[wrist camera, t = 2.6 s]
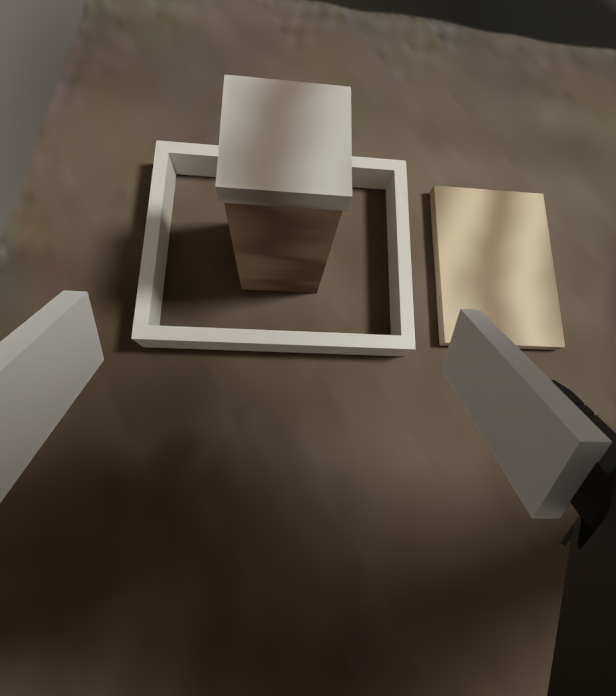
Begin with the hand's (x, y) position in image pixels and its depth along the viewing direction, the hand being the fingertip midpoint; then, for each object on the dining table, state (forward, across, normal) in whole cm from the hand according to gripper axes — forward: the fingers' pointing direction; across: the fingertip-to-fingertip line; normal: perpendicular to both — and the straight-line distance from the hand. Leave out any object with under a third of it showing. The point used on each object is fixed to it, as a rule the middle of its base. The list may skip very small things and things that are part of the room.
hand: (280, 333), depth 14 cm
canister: (+18, 0, -3) cm, 19 cm away
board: (+18, +18, -3) cm, 26 cm away
